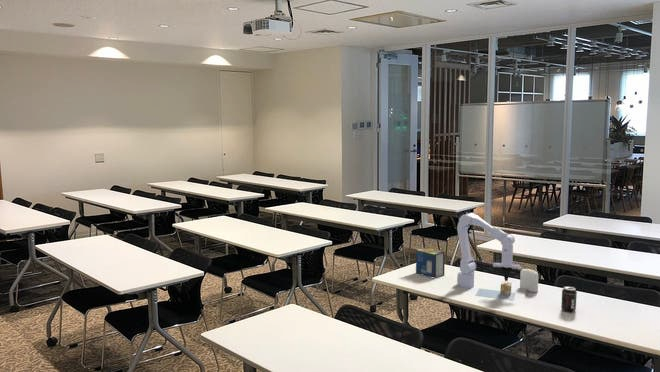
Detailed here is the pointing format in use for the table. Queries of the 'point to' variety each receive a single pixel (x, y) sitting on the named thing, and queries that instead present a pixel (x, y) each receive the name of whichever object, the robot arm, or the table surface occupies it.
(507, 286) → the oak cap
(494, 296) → the light blue flat board
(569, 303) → the beverage can
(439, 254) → the protein box
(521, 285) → the photo printer
